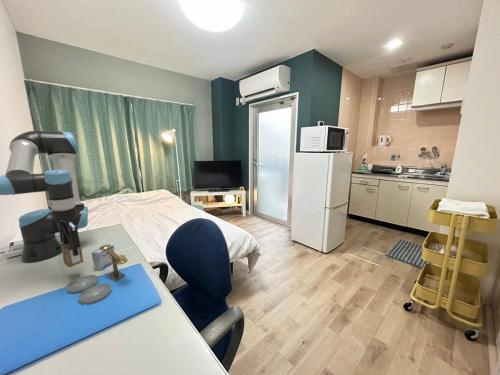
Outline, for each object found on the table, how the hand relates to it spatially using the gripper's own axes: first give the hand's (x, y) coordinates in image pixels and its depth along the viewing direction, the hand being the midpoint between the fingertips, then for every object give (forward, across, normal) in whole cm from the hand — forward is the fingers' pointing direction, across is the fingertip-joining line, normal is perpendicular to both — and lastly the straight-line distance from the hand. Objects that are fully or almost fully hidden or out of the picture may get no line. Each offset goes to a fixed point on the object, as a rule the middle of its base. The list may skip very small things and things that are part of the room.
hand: (73, 259), depth 89 cm
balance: (+8, +16, +9) cm, 19 cm away
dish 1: (+8, +10, -1) cm, 12 cm away
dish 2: (+7, +21, -1) cm, 22 cm away
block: (+1, 0, 0) cm, 1 cm away
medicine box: (+8, +2, +11) cm, 14 cm away
